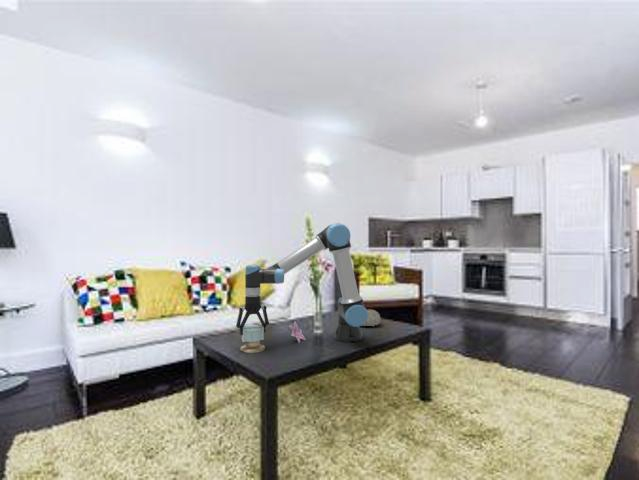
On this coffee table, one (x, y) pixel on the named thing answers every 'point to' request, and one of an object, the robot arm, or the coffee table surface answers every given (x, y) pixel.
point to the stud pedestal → (252, 347)
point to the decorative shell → (372, 318)
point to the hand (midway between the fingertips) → (252, 340)
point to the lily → (296, 332)
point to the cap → (253, 333)
